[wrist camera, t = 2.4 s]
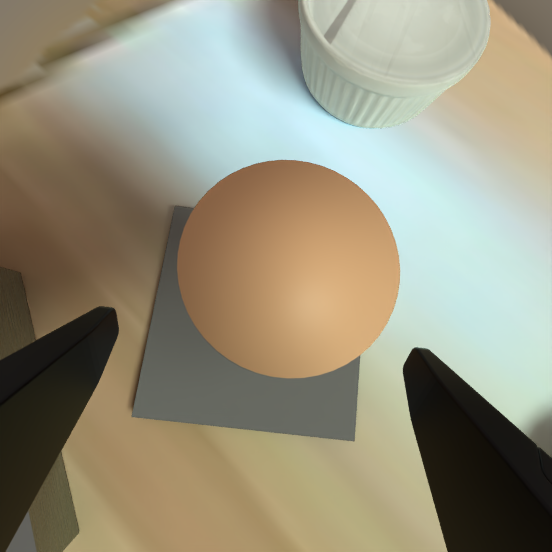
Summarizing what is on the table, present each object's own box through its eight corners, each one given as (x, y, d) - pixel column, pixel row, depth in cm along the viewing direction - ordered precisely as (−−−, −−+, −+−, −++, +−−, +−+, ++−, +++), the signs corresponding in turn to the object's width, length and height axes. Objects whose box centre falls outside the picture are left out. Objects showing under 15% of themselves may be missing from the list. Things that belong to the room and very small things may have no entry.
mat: (351, 438, 18) (354, 441, 17) (134, 414, 17) (131, 416, 17) (365, 237, 20) (367, 234, 20) (176, 209, 20) (175, 205, 19)
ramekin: (282, 11, 24) (291, -81, 19) (424, 14, 25) (470, -72, 20) (296, 146, 22) (311, 84, 16) (451, 143, 23) (511, 84, 18)
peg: (305, 339, 18) (439, 331, 6) (237, 365, 18) (216, 420, 5) (281, 273, 19) (352, 134, 6) (214, 295, 18) (145, 191, 6)
